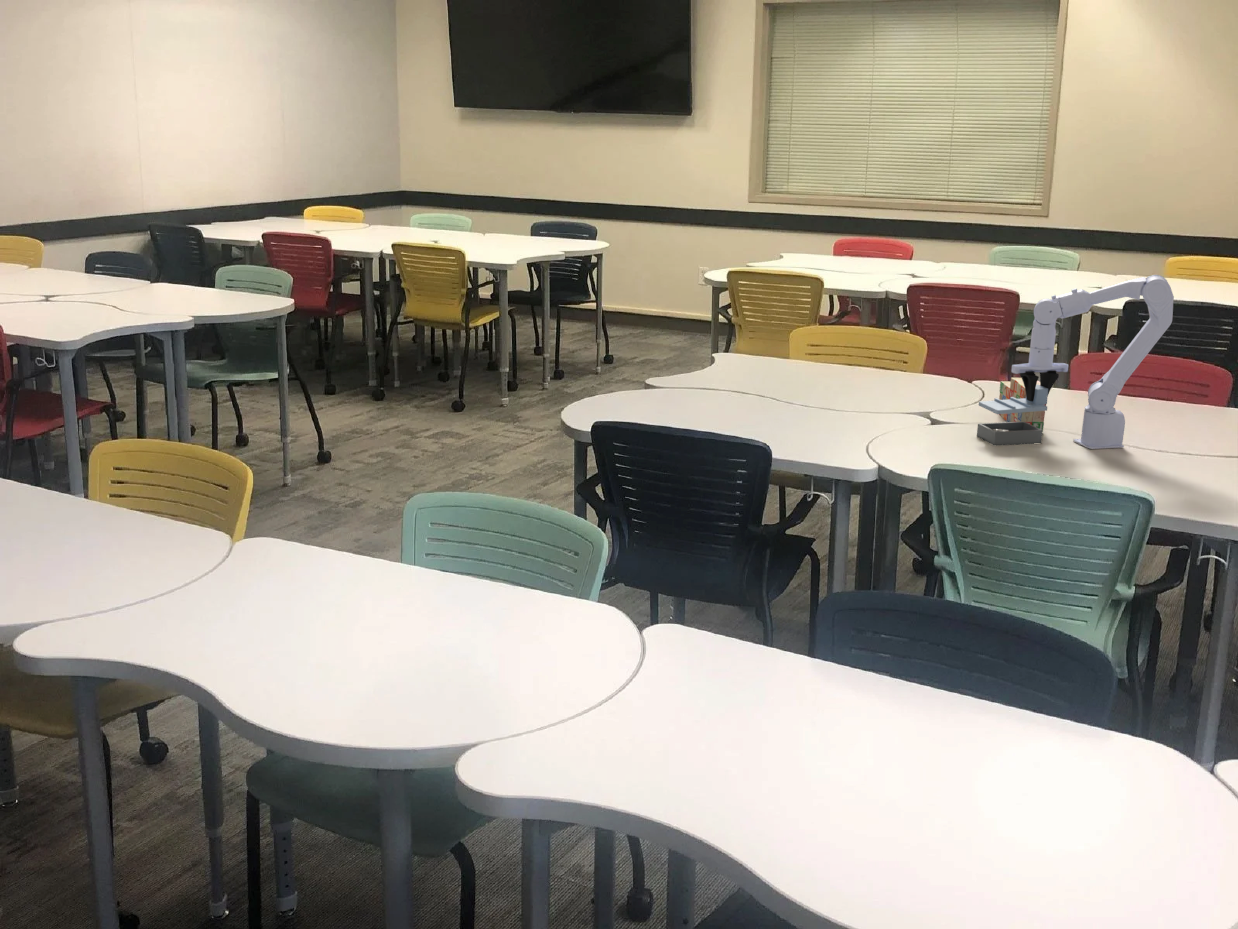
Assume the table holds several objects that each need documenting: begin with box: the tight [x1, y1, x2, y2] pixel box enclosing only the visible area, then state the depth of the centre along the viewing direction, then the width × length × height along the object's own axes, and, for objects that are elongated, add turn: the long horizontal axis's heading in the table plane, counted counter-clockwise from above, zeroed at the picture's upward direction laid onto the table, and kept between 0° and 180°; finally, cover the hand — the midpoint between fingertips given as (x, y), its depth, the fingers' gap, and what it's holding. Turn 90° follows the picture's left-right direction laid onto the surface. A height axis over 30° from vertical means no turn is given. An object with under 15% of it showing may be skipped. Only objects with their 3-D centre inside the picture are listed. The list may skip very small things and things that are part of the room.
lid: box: [978, 384, 1049, 415], centre depth 302 cm, size 15×10×5 cm, turn 101°
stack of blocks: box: [998, 377, 1047, 431], centre depth 322 cm, size 21×6×12 cm, turn 178°
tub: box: [976, 421, 1044, 447], centre depth 305 cm, size 13×9×4 cm
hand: (1036, 400), depth 304 cm, fingers closed on lid, 3 cm apart
